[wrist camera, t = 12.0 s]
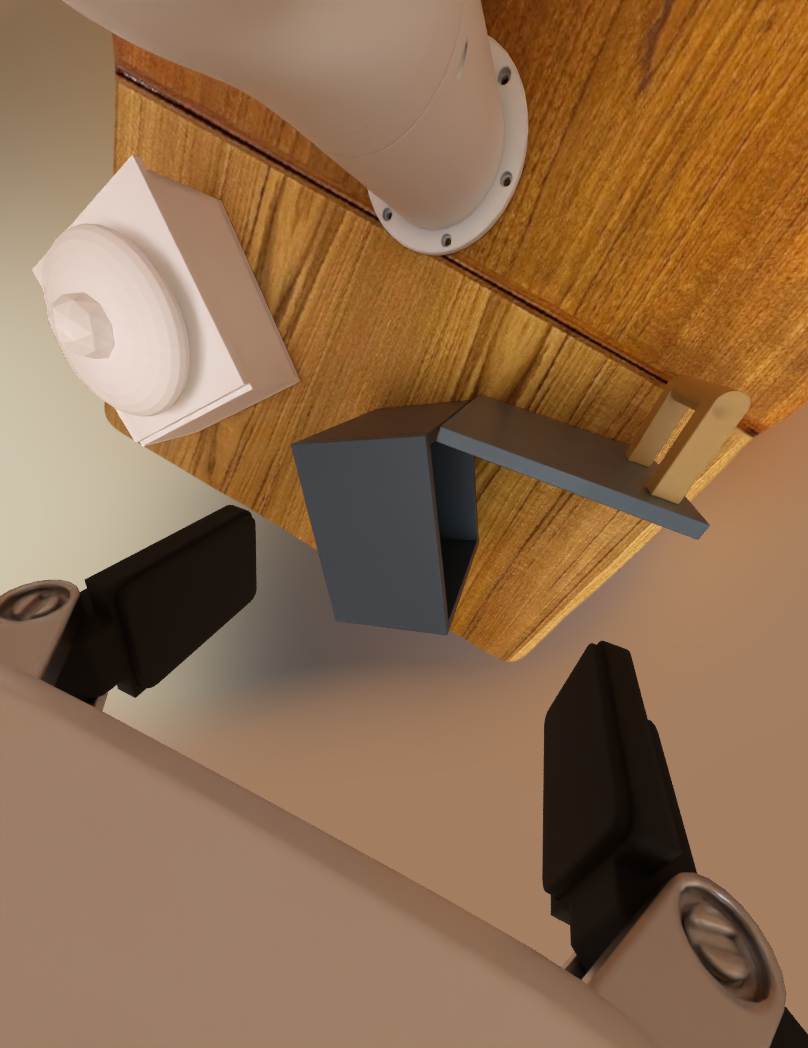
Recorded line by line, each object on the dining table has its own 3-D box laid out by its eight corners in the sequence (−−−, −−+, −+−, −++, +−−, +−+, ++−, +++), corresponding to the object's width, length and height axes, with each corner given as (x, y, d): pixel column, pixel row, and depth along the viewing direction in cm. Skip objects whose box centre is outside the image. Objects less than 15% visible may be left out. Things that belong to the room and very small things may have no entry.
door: (506, 320, 32) (477, 309, 19) (693, 378, 30) (804, 410, 17) (476, 404, 36) (435, 441, 23) (640, 461, 33) (698, 540, 21)
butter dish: (200, 431, 49) (68, 466, 35) (120, 282, 43) (-73, 257, 30) (302, 381, 41) (182, 402, 28) (219, 193, 36) (20, 104, 22)
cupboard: (470, 399, 36) (425, 435, 23) (478, 542, 42) (447, 635, 29) (376, 408, 40) (290, 444, 26) (396, 539, 46) (335, 621, 33)
